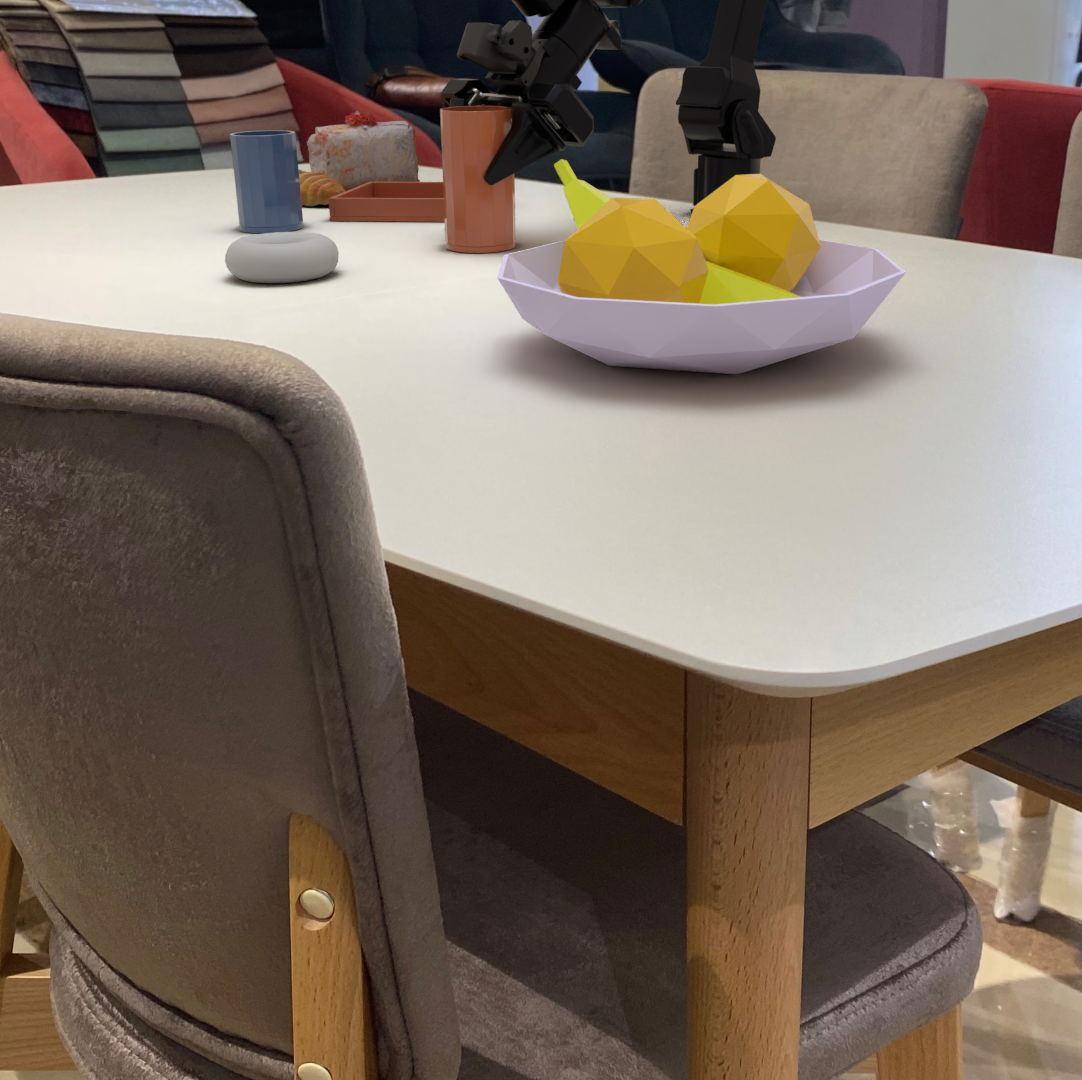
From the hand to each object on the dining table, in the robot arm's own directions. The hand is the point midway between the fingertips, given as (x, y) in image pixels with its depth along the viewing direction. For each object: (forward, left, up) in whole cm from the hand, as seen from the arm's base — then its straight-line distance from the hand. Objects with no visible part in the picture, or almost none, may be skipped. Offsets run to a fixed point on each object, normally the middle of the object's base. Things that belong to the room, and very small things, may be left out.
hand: (466, 179), depth 125 cm
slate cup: (+27, -2, -7) cm, 28 cm away
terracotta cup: (0, -1, -7) cm, 7 cm away
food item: (+38, -33, -7) cm, 51 cm away
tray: (+19, -19, -7) cm, 28 cm away
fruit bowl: (-36, +27, -7) cm, 45 cm away
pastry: (+36, -20, -7) cm, 42 cm away
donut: (+7, +19, -7) cm, 21 cm away
